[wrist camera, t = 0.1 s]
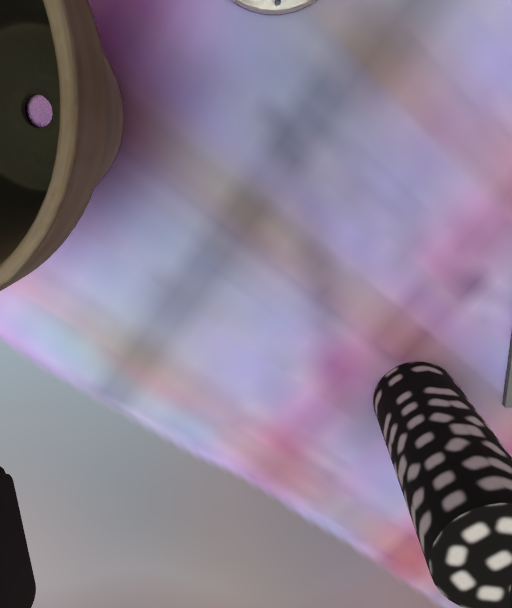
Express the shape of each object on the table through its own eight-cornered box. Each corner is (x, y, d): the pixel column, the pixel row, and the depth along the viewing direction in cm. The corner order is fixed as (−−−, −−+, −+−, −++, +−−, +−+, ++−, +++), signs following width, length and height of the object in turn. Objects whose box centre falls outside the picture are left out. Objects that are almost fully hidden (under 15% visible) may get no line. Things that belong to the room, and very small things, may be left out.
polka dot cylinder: (425, 345, 46) (523, 478, 27) (474, 405, 48) (599, 571, 28) (356, 394, 48) (401, 549, 29) (405, 450, 50) (478, 633, 30)
